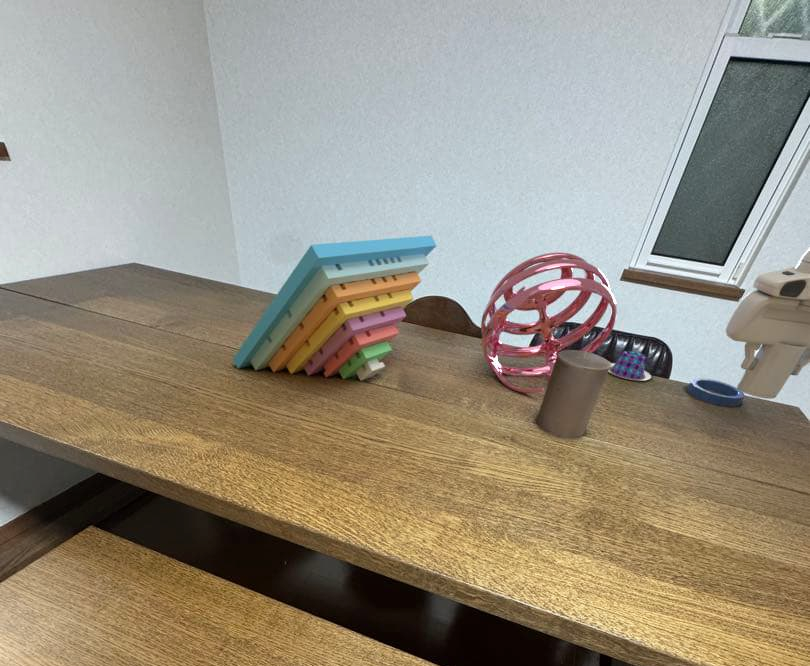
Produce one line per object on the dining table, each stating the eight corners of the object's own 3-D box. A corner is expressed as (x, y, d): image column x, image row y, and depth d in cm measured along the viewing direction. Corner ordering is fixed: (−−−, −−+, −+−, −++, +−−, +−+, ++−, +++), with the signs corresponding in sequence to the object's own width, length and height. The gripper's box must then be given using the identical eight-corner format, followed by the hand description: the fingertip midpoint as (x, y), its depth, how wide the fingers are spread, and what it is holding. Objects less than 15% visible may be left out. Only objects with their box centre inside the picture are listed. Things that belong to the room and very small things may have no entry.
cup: (764, 386, 86) (795, 337, 80) (783, 400, 81) (816, 349, 75) (730, 382, 86) (758, 333, 81) (746, 396, 81) (777, 344, 76)
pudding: (653, 375, 121) (662, 355, 118) (645, 387, 113) (654, 366, 110) (609, 362, 126) (617, 343, 122) (598, 373, 118) (605, 353, 114)
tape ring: (725, 391, 117) (730, 382, 115) (747, 411, 108) (753, 401, 106) (679, 385, 117) (683, 375, 116) (697, 404, 108) (702, 394, 106)
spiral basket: (652, 326, 80) (621, 207, 87) (494, 350, 83) (475, 233, 89) (604, 409, 107) (583, 313, 114) (485, 424, 110) (472, 330, 116)
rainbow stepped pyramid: (277, 431, 100) (368, 347, 74) (232, 359, 97) (311, 244, 71) (375, 389, 123) (471, 314, 97) (341, 330, 120) (431, 235, 94)
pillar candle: (529, 415, 93) (552, 340, 84) (574, 418, 95) (601, 344, 85) (544, 438, 86) (570, 358, 76) (592, 441, 87) (624, 363, 78)
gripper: (871, 289, 75) (815, 372, 84) (747, 274, 75) (704, 358, 84) (899, 297, 70) (836, 385, 79) (767, 282, 70) (719, 370, 79)
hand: (767, 371), depth 81 cm, fingers closed on cup, 6 cm apart
